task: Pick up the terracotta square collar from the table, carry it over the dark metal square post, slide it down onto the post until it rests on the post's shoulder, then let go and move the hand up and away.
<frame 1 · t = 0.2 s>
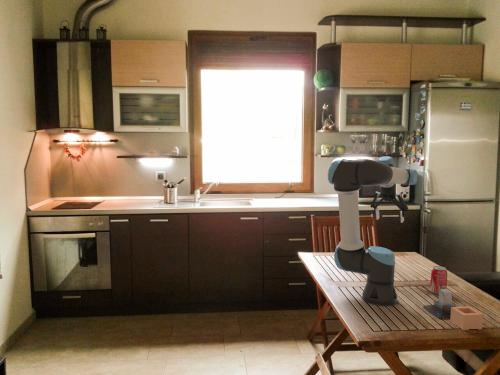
hand: (390, 220, 241), 28 cm above the table, tool tilted 20°, fingers open, 13 cm apart
soda can: (438, 292, 208), on the table
post stand: (444, 312, 184), on the table
collar: (465, 325, 171), on the table
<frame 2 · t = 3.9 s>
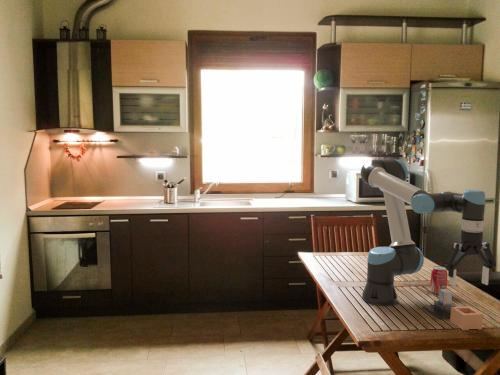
hand: (468, 284, 169), 16 cm above the table, tool pointing down, fingers open, 13 cm apart
nothing on the table moved.
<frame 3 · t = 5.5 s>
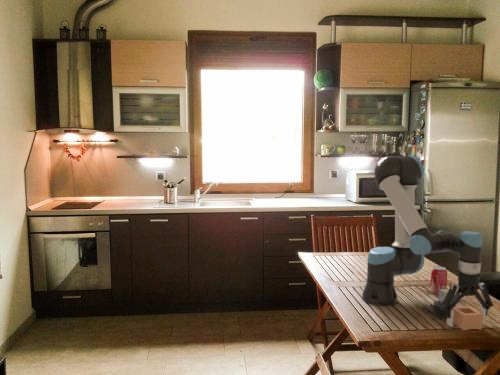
hand: (465, 324, 171), 0 cm above the table, tool pointing down, fingers open, 13 cm apart
nothing on the table moved.
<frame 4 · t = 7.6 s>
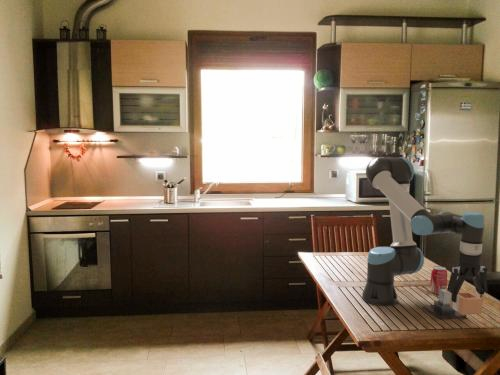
hand: (465, 309, 171), 6 cm above the table, tool pointing down, fingers closed on collar, 8 cm apart
collar: (465, 310, 171), point 6 cm above the table, touching gripper
everything else where it was.
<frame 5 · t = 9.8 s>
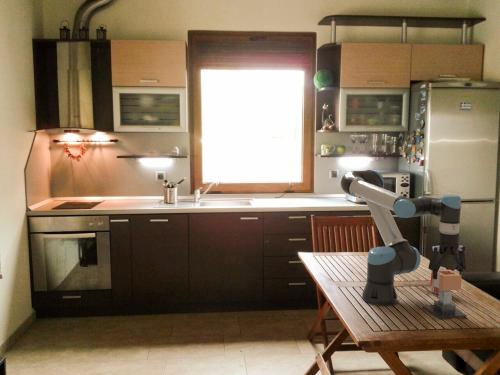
hand: (446, 286, 182), 11 cm above the table, tool pointing down, fingers closed on collar, 8 cm apart
collar: (446, 286, 183), point 11 cm above the table, touching gripper
everything else where it was.
when the fingers open (4 cm above the table, at t = 12.2 s): collar stays where it is, resting on post stand.
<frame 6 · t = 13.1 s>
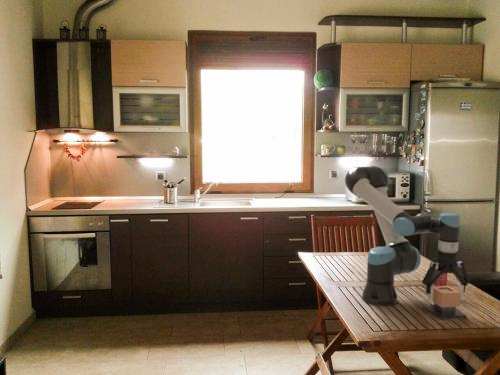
hand: (444, 300, 183), 5 cm above the table, tool pointing down, fingers open, 13 cm apart
collar: (445, 303, 183), point 4 cm above the table, touching post stand
everything else where it was.
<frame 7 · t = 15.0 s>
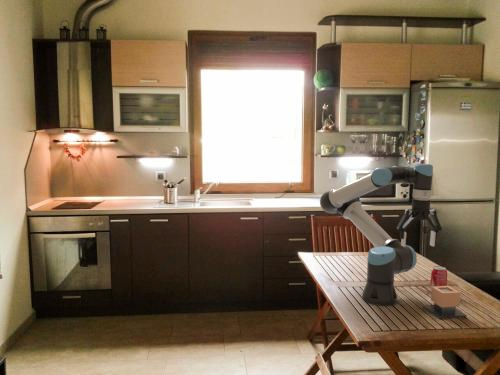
hand: (417, 245, 195), 25 cm above the table, tool pointing down, fingers open, 13 cm apart
nothing on the table moved.
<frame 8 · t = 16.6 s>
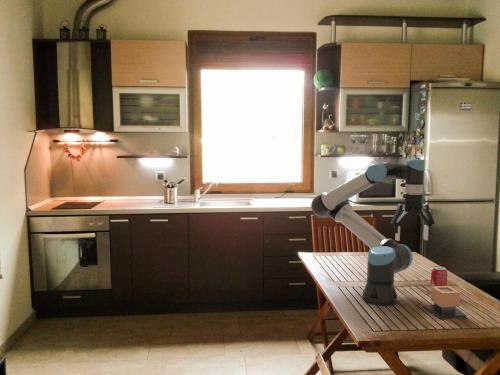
hand: (411, 240, 199), 27 cm above the table, tool pointing down, fingers open, 13 cm apart
nothing on the table moved.
at the end: collar 0.1 cm off-centre on the post stand, point 4.0 cm above the post stand's base; collar tilted 0°; the gripper is holding nothing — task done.
